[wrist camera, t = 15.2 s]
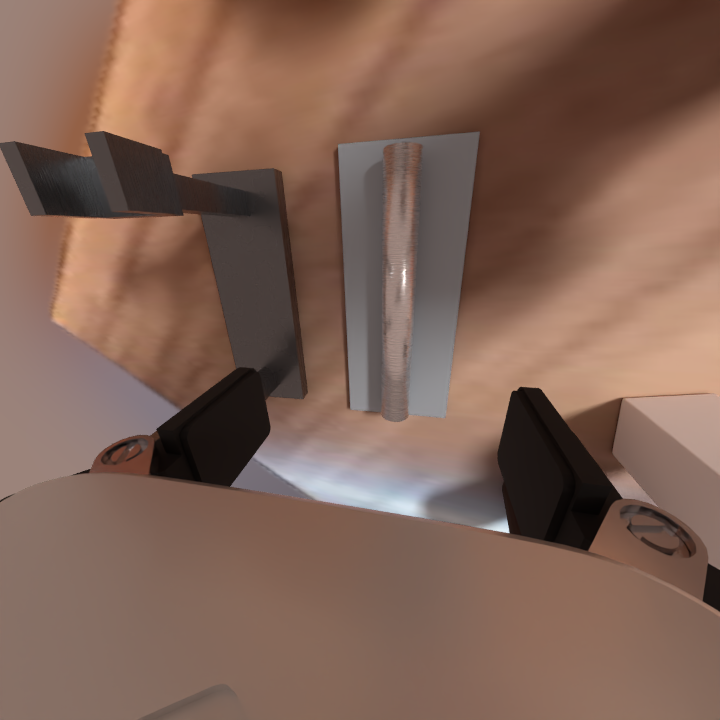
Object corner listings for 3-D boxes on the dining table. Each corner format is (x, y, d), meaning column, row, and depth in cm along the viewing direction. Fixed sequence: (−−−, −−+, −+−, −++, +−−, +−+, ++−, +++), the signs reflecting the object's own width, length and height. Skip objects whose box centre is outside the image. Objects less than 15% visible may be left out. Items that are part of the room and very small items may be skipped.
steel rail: (389, 155, 23) (377, 146, 20) (426, 150, 22) (418, 140, 19) (386, 403, 33) (377, 418, 30) (411, 408, 32) (404, 424, 29)
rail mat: (339, 146, 24) (338, 144, 23) (478, 134, 22) (479, 131, 21) (351, 406, 34) (350, 409, 34) (444, 414, 32) (445, 417, 32)
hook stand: (203, 177, 27) (-31, 118, 13) (281, 171, 25) (113, 98, 11) (248, 388, 36) (142, 485, 22) (307, 392, 35) (233, 499, 21)
